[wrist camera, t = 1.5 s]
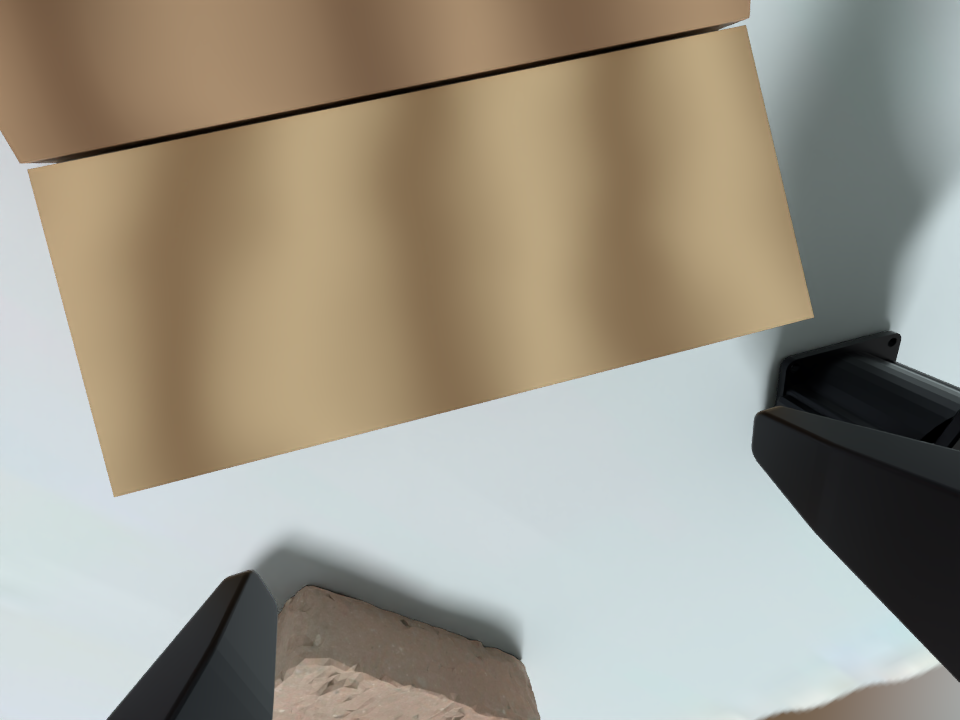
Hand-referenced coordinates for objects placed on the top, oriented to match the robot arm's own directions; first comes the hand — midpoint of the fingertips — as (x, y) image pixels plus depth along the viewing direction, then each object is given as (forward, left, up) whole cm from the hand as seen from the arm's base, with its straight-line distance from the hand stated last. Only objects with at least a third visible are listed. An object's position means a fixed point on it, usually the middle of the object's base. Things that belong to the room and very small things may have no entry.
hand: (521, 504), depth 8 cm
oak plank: (0, -2, -9) cm, 10 cm away
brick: (+9, +22, -13) cm, 27 cm away
